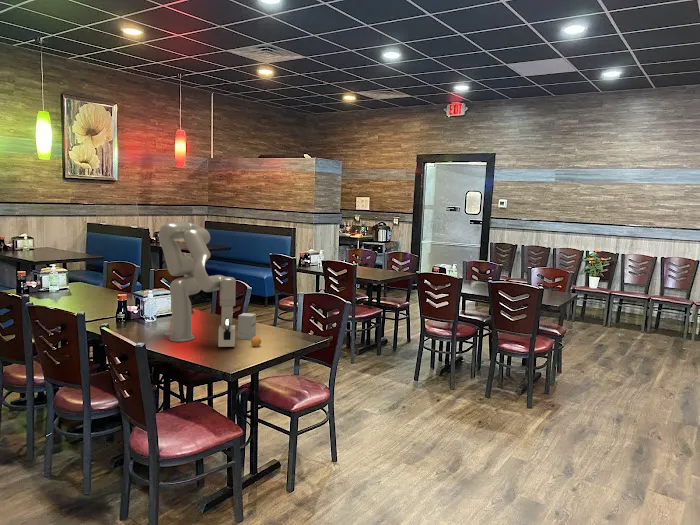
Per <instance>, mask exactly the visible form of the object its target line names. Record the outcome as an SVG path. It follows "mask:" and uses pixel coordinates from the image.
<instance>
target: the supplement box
mask: <svg viewBox="0 0 700 525" xmlns="http://www.w3.org/2000/svg"><path fill="white" fill-rule="evenodd" d="M237 318H238V319H237V322H238V324H237V339H238V340H245V341H246V340H247V341H251V339H252V338H253V337H255V336H256V334H257V333H256V332H257V314H256V313H250V312H249V313H248V312H243V313H241V314H239V315H238V316H237Z"/></svg>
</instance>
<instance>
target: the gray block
mask: <svg viewBox="0 0 700 525" xmlns="http://www.w3.org/2000/svg"><path fill="white" fill-rule="evenodd" d="M230 332H231V334H230V340H224V326H223V327H222V326H221V324H219V326H218V340H217V342H218V345H217V346H218V347H219V348H221V347H222V348H225V347H226V348H227V347H235V344H236V342H235V341H236V325H235V324H234V325H233V324H232V325H231V326H230Z"/></svg>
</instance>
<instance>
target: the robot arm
mask: <svg viewBox="0 0 700 525" xmlns="http://www.w3.org/2000/svg"><path fill="white" fill-rule="evenodd" d="M177 239H178V240H179V239H181V240H182V239H183V240H184V243H185V245H186V248H187V250H188V251H189V252H190V255H191V256H189V255H187V256H185V255H184V256H183V253H182V249H181V246H180V245H179V244H178V242H177V241H176V240H177ZM158 241H159V244H160V246H161V249H162V252H163V256H164V260H165V263H166V267H167V271H168V273H169V274H170V275H171V276H173V277H178V276H183V277H178V278H175V279H174V280H172V281H171V283H170V284H169V292H170V297H171V330H169V331H167V330H165V331H162V335H163V336H166V337H167V336H169V337H168V340H169V341H171V342H177V343H178V342H179V343H181V342H183V343H184V342H190V341H193V340H194V339H195V335H193V334H192V302H191V299H190V298H189V296H193V295H196V294H198V293H200V292H201V291H203V292H205V293H212V292H215V291H216V292H217V291H219V306H220V307H221V319H220V320H221V322H220V323H221V324H220V325H221V326H222V327H223V326H224V340H230V334H231V332H230V326H231V325H233V324H232V323H233V315H234V314H233V313H234V311H233V310H234V307H235V306H236V287H237V286H236V283H237V281H236V278H235V277H233V276H232V277H231V276H225V275H221V274H215V275H209V274H208V273H207V271H206V262H207V261H208V259H210V258H211V252H210V250H209V249H208V247H207V245H208V244H209V243H210V241H211V235H210V232H209V231H208V229H206V228H205V227H202V226H200V225H197V224H194V223H193V222H189V221H172V222H167V223H164V224H162V226H160V228H159V229H158Z"/></svg>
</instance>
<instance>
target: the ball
mask: <svg viewBox="0 0 700 525" xmlns="http://www.w3.org/2000/svg"><path fill="white" fill-rule="evenodd" d="M261 343H262V338H260V337H259V336H255V337H253V338H252V339H251V340H250V344H251V345H252V346H253V347H259V346H260V345H261Z"/></svg>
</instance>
